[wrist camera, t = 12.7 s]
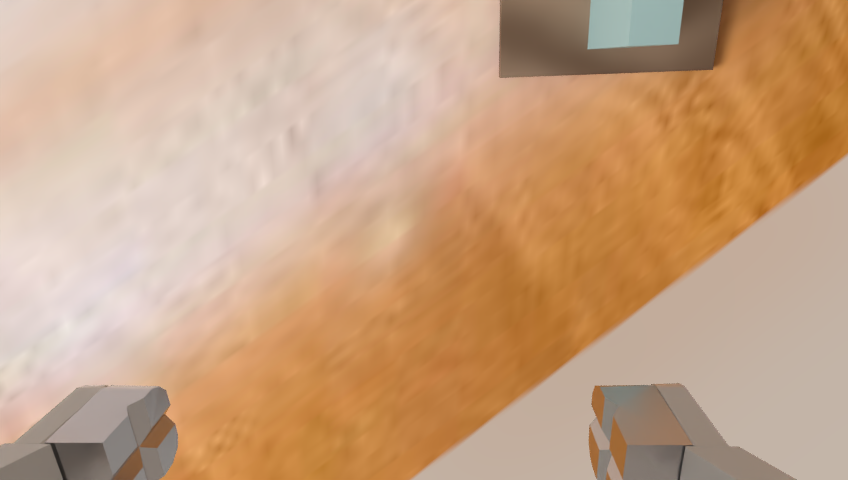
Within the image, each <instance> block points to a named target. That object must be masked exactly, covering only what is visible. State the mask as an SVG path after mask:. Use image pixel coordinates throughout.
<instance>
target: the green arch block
mask: <svg viewBox="0 0 848 480" xmlns="http://www.w3.org/2000/svg"><path fill="white" fill-rule="evenodd" d="M683 3H684V0H591V4H590V19H589V34H588V49H608V48H630V47H644V46H659V45H673V44H678V43H679V35H680V27H681V19H682V11H683Z"/></svg>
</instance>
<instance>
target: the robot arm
mask: <svg viewBox="0 0 848 480" xmlns="http://www.w3.org/2000/svg"><path fill="white" fill-rule="evenodd" d="M169 406H170V402H169V399H168V395H167V392H166V390H164V389H163V388H161V387H159V386H114V385H111V386H107V385H86V386H83V387H79V388H76V389H75V390H74V391H73V392H72V393H71V394H70V395H68V396H67V397H66V398H65V399H64V400H63V401H61V402H60V403H59V404H58V405H57V406H56V407H55V408H53V409H52V410H51V411H50V412H49V413H48V414H46V415H45V416H44V417H43V418H42V419H41V420H40V421H38V422H37V423H36V424H35V425H34V426H33V427H32V428H30V429H29V430H28V431H27V432H26V433H25V434H23V435H22V436H21V437H20V438H19V439H18V440H17V441H15V442H14V443H13V444H3V445H1V446H0V480H159V479H160V478H162V477H163V476H165V474H166V473H167V471H168V470H169V468H170V466H171V465H172V463H173V460H174V457H175V454H176V451H177V447H178V434H177V430H176V425H175V423H174V422H173V421H172V420H170V419H169V418H168V417H167V416H166V415H165V413H166V412H167V410H168V408H169ZM592 407H593V410H594V412H595V414H596V419H595V420H594V421H593V422H592V423H591V424H590V428H589V449H590V457H591V462H592V467H593V470H594V473H595V476H596V478H597V480H796V479H794V478H793V477H791V476H789V475H787V474H786V473H784V472H782V471H780V470H779V469H777V468H775V467H773V466H772V465H769V464H768V463H766V462H765V461H763V460H761V459H759V458H758V457H756V456H754V455H752V454H751V453H749V452H747V451H745V450H743V449H742V448H740V447H730V446H729V445H728V444H727V443H726V441H725V440H724V439H723V437H722V436H721V435H720V433H719V432H718V431H717V429H716V428H715V427H714V425H713V424H712V422H711V421H710V420H709V418H708V417H707V416H706V414H705V413H704V412H703V410H702V409H701V408H700V406H699V405H698V404H697V402H696V401H695V400H694V398H693V397H692V396H691V394H690V393H689V392H688V390H687V389H686V388H685V386H683V385H681V384H679V383H676V384H651V385H628V386H627V385H626V386H624V385H623V386H595V388H594V391H593V395H592Z"/></svg>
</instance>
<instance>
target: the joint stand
mask: <svg viewBox="0 0 848 480" xmlns="http://www.w3.org/2000/svg"><path fill="white" fill-rule="evenodd" d="M590 4H591V0H500V51H499V77H500V78H507V77H533V76H559V75H586V74H612V73H638V72H664V71H690V70H713V66H714V59H715V52H716V45H717V39H718V32H719V25H720V19H721V12H722V5H723V0H684V3H683V11H682V19H681V27H680V35H679V43H678V44H673V45H659V46H644V47H630V48H608V49H588V34H589V19H590Z"/></svg>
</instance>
